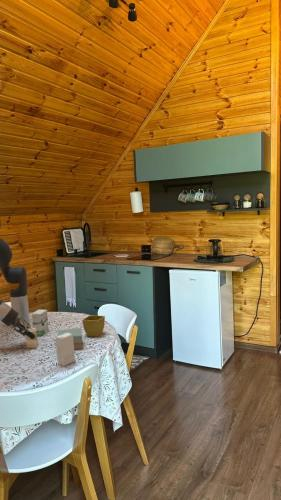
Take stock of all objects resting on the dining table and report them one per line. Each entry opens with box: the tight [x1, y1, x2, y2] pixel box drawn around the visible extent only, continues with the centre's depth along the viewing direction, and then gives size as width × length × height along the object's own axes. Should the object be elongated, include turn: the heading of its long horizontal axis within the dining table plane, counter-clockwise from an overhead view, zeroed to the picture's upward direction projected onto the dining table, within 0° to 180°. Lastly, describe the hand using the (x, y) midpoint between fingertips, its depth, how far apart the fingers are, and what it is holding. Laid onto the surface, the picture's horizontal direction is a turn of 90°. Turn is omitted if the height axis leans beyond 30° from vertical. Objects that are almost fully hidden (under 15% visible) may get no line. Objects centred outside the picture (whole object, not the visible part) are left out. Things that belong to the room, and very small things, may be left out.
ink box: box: [31, 309, 50, 337], centre depth 198 cm, size 9×5×12 cm, turn 168°
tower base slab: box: [74, 342, 84, 351], centre depth 177 cm, size 11×11×4 cm
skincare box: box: [55, 333, 76, 367], centre depth 158 cm, size 6×4×12 cm
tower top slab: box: [56, 327, 83, 344], centre depth 177 cm, size 11×11×4 cm
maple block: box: [25, 327, 39, 349], centre depth 180 cm, size 5×5×8 cm
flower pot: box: [81, 314, 106, 338], centre depth 191 cm, size 9×9×9 cm
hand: (34, 335), depth 180 cm, fingers closed on maple block, 4 cm apart
